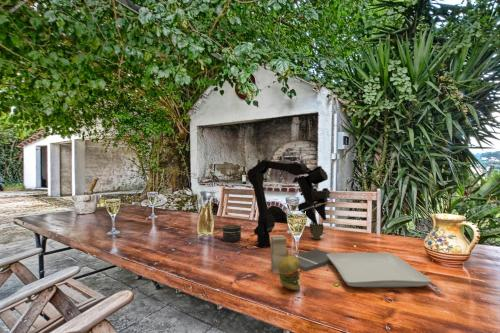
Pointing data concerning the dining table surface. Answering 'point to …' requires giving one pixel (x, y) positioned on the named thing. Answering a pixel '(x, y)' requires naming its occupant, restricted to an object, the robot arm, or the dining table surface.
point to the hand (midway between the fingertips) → (320, 222)
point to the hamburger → (289, 272)
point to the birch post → (277, 252)
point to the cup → (316, 230)
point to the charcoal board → (313, 259)
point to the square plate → (376, 270)
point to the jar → (231, 233)
